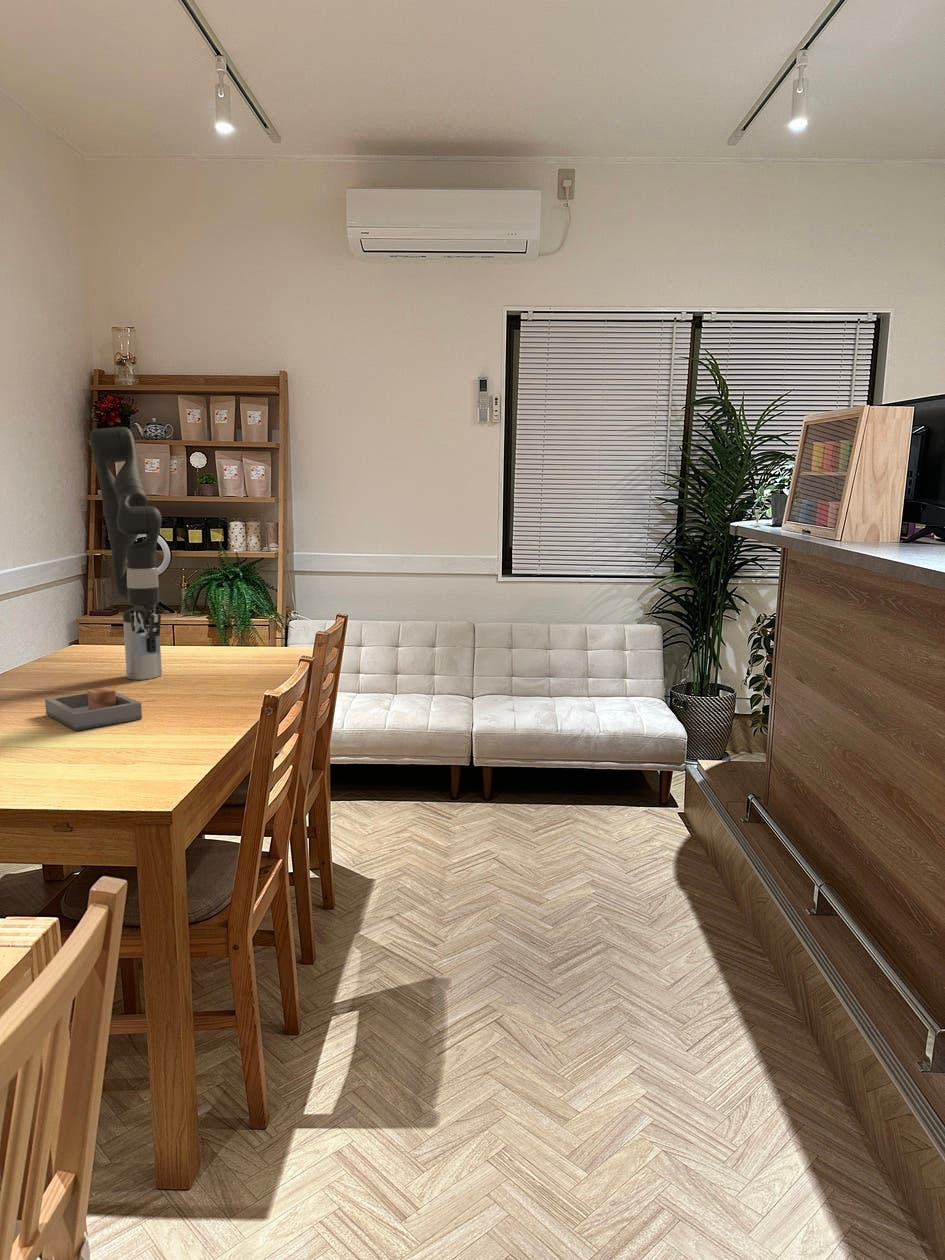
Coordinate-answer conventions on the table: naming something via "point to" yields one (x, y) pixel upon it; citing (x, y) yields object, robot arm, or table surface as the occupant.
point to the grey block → (143, 644)
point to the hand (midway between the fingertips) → (146, 650)
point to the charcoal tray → (91, 711)
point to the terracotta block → (101, 698)
